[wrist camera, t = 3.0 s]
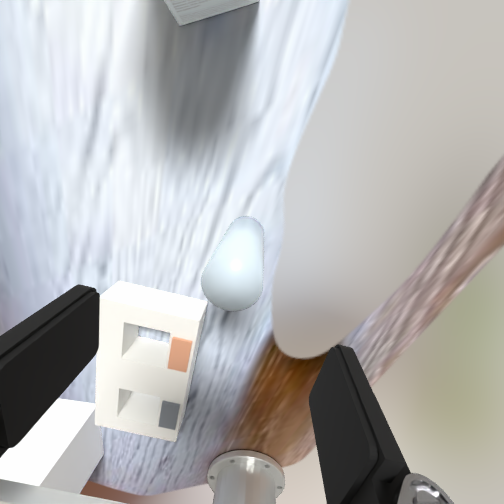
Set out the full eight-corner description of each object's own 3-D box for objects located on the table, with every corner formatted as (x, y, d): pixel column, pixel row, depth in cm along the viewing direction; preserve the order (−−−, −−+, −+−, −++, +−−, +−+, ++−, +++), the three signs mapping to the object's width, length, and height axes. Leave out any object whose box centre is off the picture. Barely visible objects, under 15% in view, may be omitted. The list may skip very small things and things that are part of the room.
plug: (269, 243, 27) (272, 300, 16) (236, 256, 28) (217, 318, 17) (255, 210, 26) (248, 246, 15) (221, 224, 27) (190, 267, 16)
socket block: (184, 413, 37) (174, 444, 33) (112, 397, 37) (93, 426, 33) (207, 301, 30) (199, 322, 26) (119, 280, 30) (96, 298, 26)
